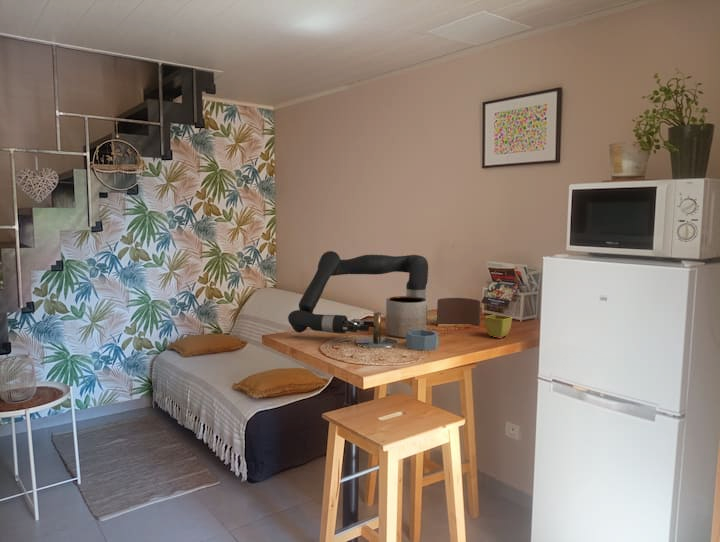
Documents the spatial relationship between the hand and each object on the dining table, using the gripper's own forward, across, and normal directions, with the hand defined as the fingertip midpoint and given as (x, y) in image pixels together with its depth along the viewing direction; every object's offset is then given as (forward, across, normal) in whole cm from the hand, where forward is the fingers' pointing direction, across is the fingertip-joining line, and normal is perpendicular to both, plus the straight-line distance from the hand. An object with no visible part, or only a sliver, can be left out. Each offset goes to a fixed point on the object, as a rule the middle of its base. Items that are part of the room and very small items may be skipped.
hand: (372, 326), depth 223 cm
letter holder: (+29, +48, +8) cm, 56 cm away
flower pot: (+49, +28, +7) cm, 57 cm away
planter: (+10, +20, +7) cm, 24 cm away
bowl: (+21, +1, +7) cm, 22 cm away
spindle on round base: (+2, 0, +7) cm, 7 cm away
